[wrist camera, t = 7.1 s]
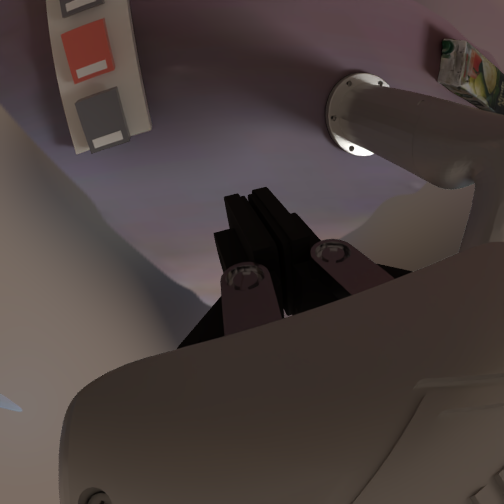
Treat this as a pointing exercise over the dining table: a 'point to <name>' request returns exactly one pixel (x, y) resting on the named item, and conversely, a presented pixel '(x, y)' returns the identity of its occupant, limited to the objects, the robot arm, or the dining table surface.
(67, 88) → the rocker switch panel
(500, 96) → the juice carton
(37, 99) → the dining table surface
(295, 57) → the dining table surface
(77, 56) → the red rocker
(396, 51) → the dining table surface
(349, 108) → the robot arm
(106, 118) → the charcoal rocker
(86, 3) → the charcoal rocker
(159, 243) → the dining table surface
